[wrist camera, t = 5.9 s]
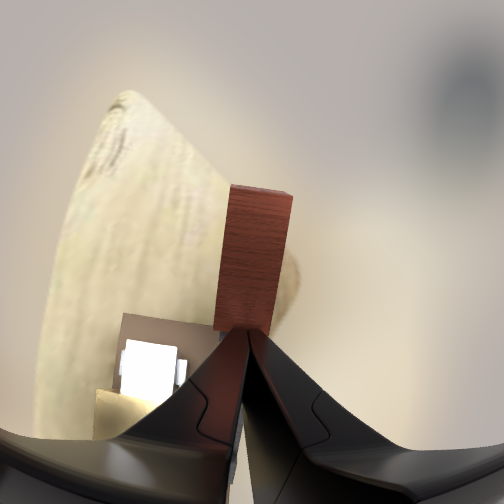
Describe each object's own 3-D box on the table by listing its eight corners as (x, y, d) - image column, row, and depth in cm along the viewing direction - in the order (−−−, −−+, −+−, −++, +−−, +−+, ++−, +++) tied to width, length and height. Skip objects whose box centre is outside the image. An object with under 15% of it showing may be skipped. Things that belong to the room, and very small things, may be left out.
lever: (236, 484, 11) (294, 196, 8) (200, 481, 11) (230, 187, 8) (236, 455, 13) (283, 191, 10) (201, 452, 12) (230, 183, 9)
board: (225, 526, 14) (226, 533, 13) (111, 508, 14) (106, 514, 13) (240, 332, 20) (242, 329, 19) (127, 317, 20) (123, 312, 18)
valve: (196, 507, 14) (194, 544, 9) (115, 492, 14) (88, 521, 9) (208, 357, 18) (209, 347, 13) (127, 345, 18) (100, 329, 13)
